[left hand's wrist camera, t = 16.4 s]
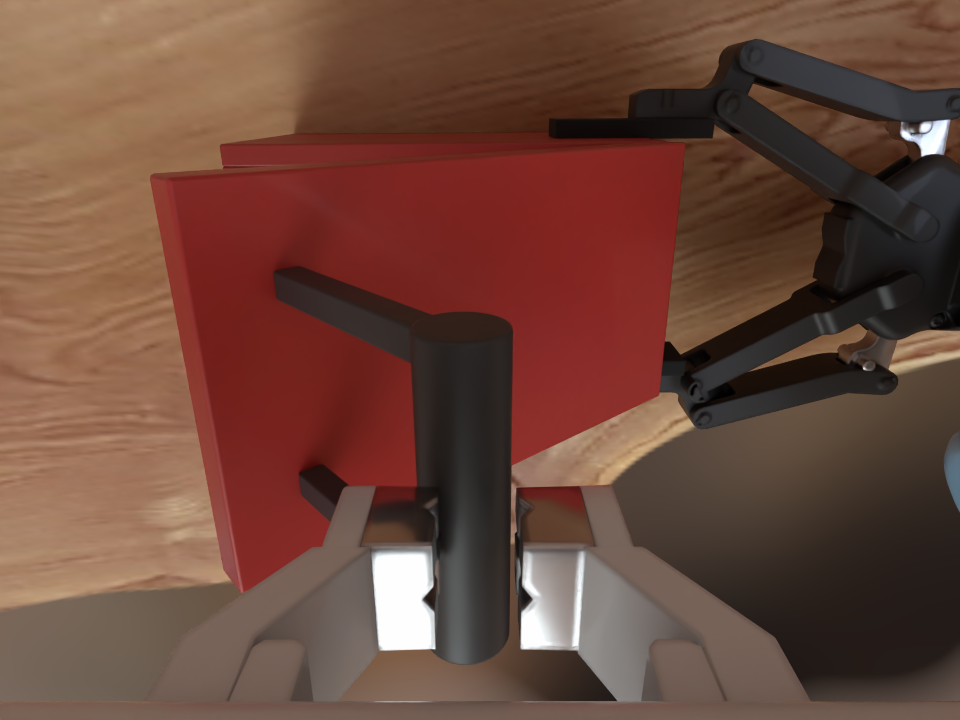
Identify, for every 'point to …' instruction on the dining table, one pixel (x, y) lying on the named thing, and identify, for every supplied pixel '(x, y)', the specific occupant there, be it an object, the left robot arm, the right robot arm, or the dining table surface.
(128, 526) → the dining table surface
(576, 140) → the chest
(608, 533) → the left robot arm
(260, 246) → the lid
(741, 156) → the dining table surface
